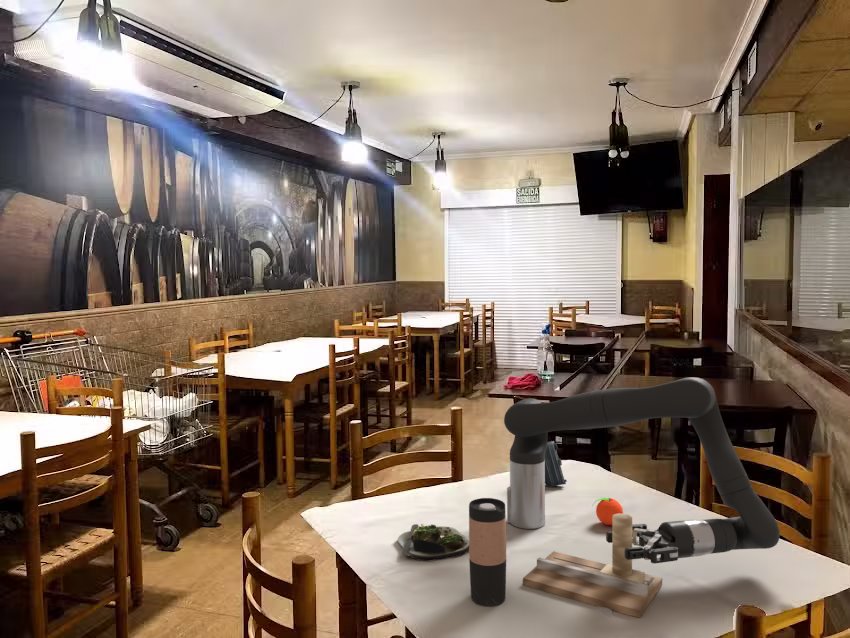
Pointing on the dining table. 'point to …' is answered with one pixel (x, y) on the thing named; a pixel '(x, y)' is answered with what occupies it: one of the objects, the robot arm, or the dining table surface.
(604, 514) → the clementine
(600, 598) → the board
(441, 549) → the salad plate
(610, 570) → the post
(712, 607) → the dining table surface
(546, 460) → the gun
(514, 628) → the dining table surface
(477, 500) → the travel mug
